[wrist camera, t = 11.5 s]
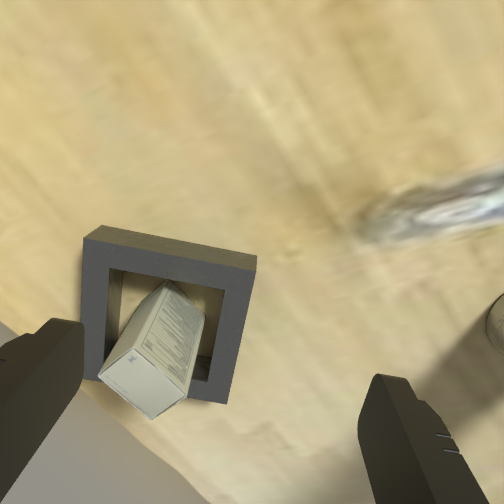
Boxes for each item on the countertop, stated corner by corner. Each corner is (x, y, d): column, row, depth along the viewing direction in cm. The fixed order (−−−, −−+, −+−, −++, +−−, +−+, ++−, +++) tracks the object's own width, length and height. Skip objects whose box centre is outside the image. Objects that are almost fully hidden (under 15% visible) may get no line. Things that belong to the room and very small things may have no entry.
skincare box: (141, 300, 40) (91, 374, 29) (170, 276, 39) (131, 344, 27) (180, 338, 41) (149, 423, 30) (209, 317, 40) (188, 397, 29)
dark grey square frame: (256, 255, 38) (256, 271, 34) (229, 379, 43) (226, 404, 39) (101, 225, 37) (83, 237, 33) (94, 354, 43) (78, 377, 39)
